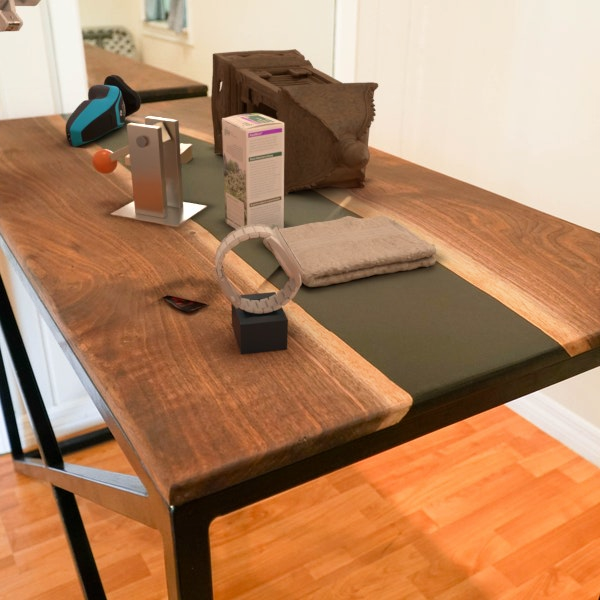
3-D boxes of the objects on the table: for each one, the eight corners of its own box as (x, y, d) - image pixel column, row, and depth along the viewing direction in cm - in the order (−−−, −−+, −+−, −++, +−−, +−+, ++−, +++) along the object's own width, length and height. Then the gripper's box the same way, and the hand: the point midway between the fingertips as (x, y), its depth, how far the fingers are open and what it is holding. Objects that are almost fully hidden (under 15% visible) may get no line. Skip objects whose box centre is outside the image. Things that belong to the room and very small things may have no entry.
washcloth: (441, 266, 77) (445, 242, 76) (305, 294, 70) (306, 268, 69) (386, 230, 87) (389, 208, 85) (261, 251, 79) (261, 228, 78)
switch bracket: (111, 222, 86) (99, 124, 80) (144, 203, 93) (136, 111, 87) (177, 234, 83) (171, 134, 77) (207, 214, 90) (203, 119, 84)
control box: (148, 154, 114) (146, 131, 112) (193, 157, 113) (191, 134, 111) (125, 171, 105) (123, 146, 103) (173, 175, 104) (172, 150, 102)
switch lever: (95, 179, 87) (83, 157, 86) (109, 173, 90) (98, 151, 89) (161, 147, 81) (148, 123, 80) (174, 141, 84) (162, 117, 83)
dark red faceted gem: (192, 315, 65) (192, 311, 65) (153, 302, 67) (152, 297, 67) (220, 297, 69) (220, 293, 69) (182, 284, 71) (182, 281, 71)
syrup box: (285, 234, 84) (287, 120, 77) (245, 244, 81) (244, 126, 74) (261, 220, 88) (261, 111, 81) (223, 229, 85) (220, 116, 78)
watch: (307, 346, 61) (312, 237, 56) (221, 356, 59) (217, 244, 54) (293, 317, 66) (296, 214, 61) (213, 325, 64) (209, 219, 59)
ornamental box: (400, 224, 96) (431, 94, 88) (293, 227, 87) (317, 84, 79) (292, 154, 122) (308, 50, 114) (202, 151, 114) (213, 39, 106)
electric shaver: (103, 114, 137) (149, 118, 136) (43, 159, 116) (96, 165, 115) (97, 71, 132) (145, 75, 131) (33, 111, 112) (88, 116, 110)
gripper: (-128, -96, 71) (-46, 10, 72) (14, -76, 88) (79, 10, 89) (-148, -52, 74) (-69, 49, 75) (-7, -41, 92) (55, 41, 93)
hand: (12, 28), depth 83 cm, fingers closed
